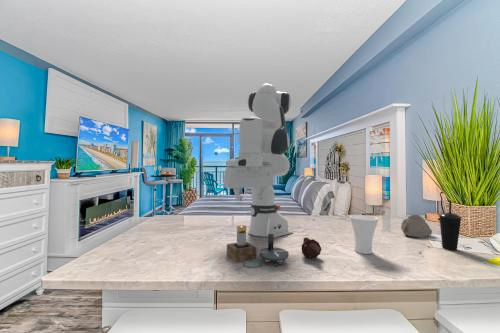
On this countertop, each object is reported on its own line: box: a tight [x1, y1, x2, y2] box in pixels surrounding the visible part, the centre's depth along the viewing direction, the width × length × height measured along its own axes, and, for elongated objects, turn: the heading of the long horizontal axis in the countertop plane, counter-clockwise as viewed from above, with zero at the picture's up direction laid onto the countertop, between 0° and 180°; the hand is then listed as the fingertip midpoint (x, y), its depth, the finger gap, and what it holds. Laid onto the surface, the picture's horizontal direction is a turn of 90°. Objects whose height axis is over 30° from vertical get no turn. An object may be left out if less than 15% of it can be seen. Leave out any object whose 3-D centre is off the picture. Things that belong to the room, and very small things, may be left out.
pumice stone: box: [400, 214, 433, 238], centre depth 129 cm, size 15×8×10 cm, turn 99°
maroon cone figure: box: [301, 237, 322, 259], centre depth 95 cm, size 7×7×15 cm
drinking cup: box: [438, 200, 463, 252], centre depth 108 cm, size 8×8×20 cm
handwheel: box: [259, 234, 290, 261], centre depth 90 cm, size 10×10×6 cm
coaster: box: [243, 259, 261, 269], centre depth 87 cm, size 6×6×1 cm
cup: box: [349, 214, 380, 255], centre depth 103 cm, size 10×10×14 cm
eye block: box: [226, 241, 257, 263], centre depth 95 cm, size 8×8×4 cm
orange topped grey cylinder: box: [236, 225, 247, 248], centre depth 95 cm, size 3×3×11 cm
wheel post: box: [264, 259, 284, 266], centre depth 90 cm, size 6×6×1 cm
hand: (250, 200), depth 94 cm, fingers open, 8 cm apart
